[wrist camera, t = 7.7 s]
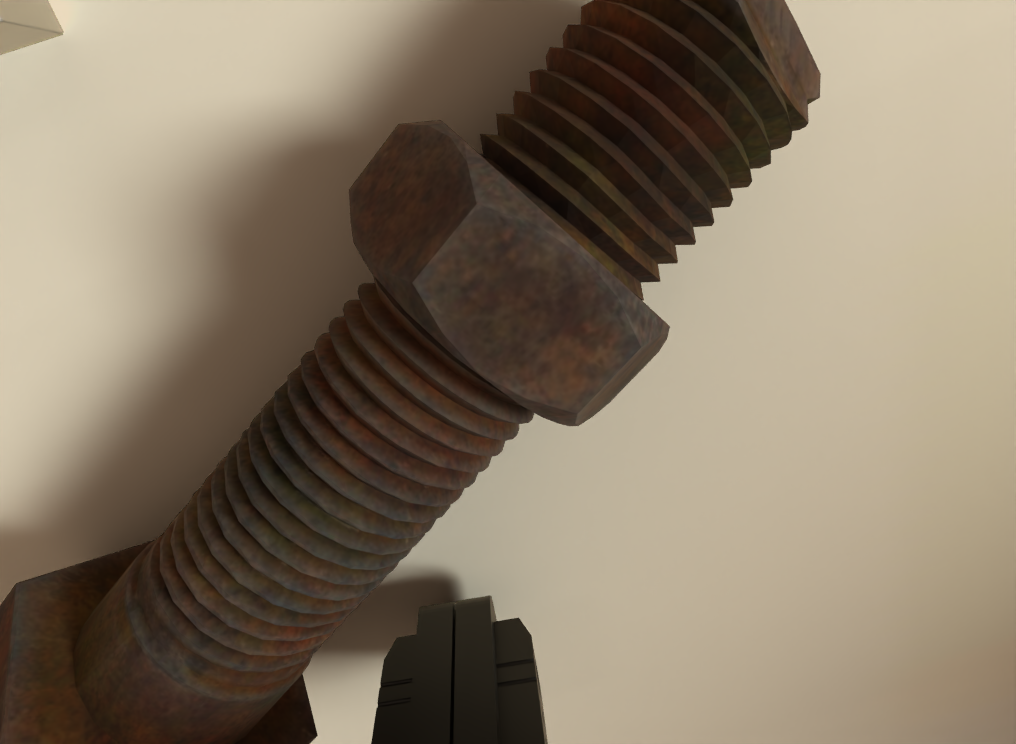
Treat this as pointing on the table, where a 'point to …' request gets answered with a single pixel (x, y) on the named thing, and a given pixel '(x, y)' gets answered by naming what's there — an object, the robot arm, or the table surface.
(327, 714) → the table surface
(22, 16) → the picture frame
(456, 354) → the bolt
